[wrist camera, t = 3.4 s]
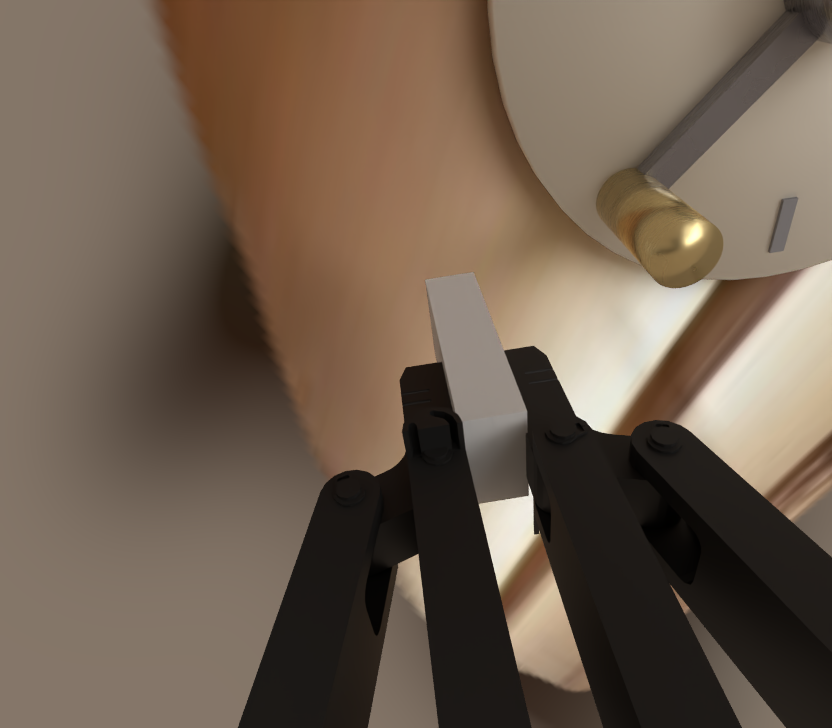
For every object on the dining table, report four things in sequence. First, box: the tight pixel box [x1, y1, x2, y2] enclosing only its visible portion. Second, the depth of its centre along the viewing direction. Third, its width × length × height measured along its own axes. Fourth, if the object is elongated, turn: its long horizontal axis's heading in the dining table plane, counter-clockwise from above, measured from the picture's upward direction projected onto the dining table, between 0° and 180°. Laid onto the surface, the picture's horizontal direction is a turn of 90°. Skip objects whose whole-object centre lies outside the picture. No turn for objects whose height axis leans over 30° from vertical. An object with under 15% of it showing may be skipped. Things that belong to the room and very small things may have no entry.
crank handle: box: [596, 0, 832, 288], centre depth 18 cm, size 14×5×5 cm, turn 142°
